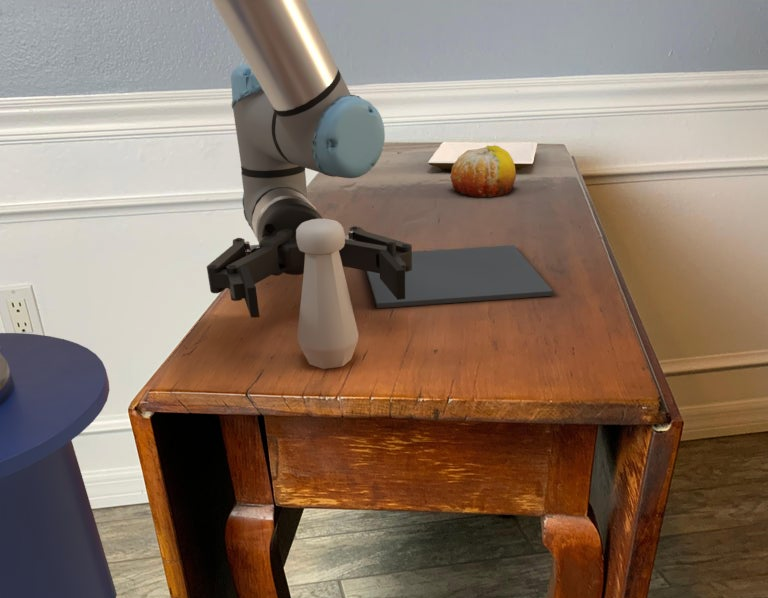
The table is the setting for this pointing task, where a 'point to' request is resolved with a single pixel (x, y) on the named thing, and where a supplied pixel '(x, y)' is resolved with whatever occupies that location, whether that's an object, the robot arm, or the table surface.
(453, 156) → the plate
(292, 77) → the robot arm
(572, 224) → the table surface
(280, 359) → the table surface
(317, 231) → the salt shaker
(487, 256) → the center mat
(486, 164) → the fruit
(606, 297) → the table surface
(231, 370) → the table surface
